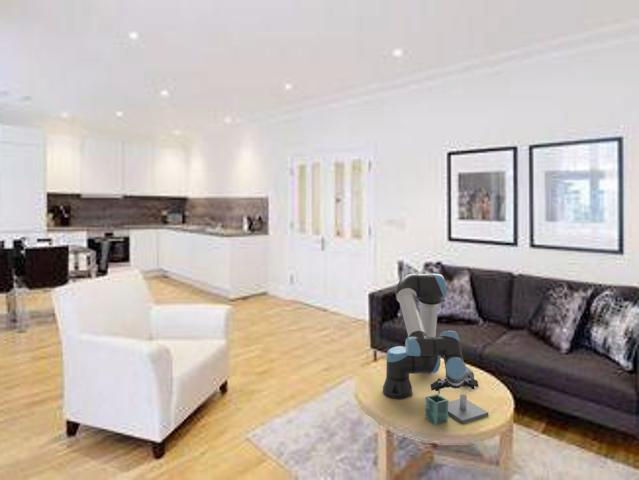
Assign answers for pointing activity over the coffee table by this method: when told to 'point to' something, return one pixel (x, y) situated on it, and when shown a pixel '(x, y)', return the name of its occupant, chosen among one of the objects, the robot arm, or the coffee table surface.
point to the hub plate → (465, 410)
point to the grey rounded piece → (469, 373)
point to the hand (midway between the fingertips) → (453, 390)
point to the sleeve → (436, 409)
